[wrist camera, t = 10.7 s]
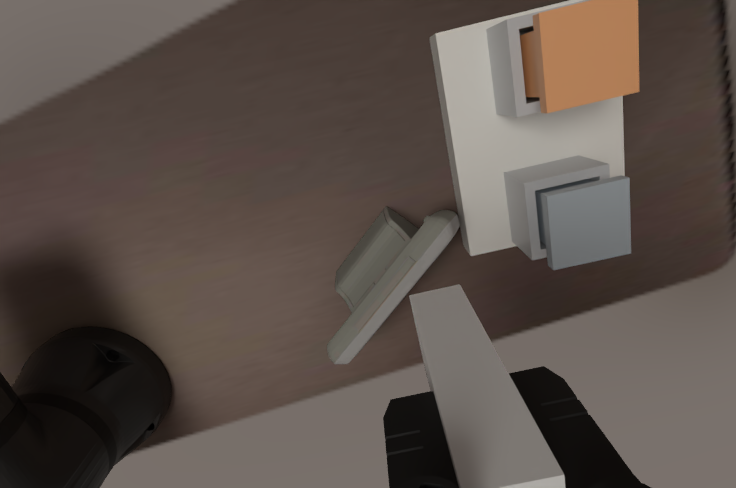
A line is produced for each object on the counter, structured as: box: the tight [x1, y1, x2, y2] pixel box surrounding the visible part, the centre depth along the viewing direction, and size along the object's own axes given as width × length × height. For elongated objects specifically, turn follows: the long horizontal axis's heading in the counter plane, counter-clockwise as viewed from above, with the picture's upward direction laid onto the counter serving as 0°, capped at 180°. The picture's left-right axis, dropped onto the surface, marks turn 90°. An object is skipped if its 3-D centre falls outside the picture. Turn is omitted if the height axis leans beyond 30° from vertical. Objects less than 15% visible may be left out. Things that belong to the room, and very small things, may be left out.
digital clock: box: [327, 206, 460, 364], centre depth 40 cm, size 16×9×11 cm, turn 132°
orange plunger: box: [520, 0, 639, 113], centre depth 31 cm, size 6×6×8 cm
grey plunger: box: [535, 175, 631, 270], centre depth 36 cm, size 6×6×8 cm
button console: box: [429, 0, 625, 260], centre depth 37 cm, size 15×20×8 cm
